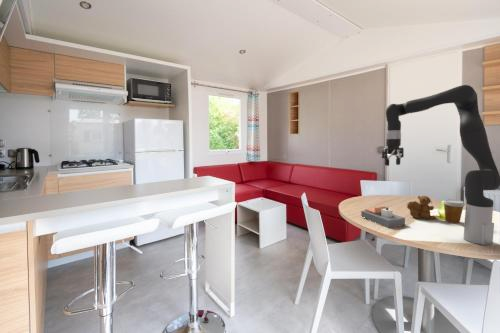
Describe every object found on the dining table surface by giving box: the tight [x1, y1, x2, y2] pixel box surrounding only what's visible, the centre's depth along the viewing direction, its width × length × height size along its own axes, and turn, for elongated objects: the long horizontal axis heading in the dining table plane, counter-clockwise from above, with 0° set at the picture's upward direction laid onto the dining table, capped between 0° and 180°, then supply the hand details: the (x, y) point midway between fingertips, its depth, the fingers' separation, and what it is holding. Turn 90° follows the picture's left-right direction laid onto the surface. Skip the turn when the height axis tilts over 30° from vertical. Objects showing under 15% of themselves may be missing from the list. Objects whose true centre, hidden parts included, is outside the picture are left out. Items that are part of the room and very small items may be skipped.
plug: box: [381, 206, 393, 218], centre depth 144 cm, size 4×4×8 cm
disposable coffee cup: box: [442, 198, 466, 224], centre depth 143 cm, size 10×10×12 cm
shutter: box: [364, 206, 386, 214], centre depth 152 cm, size 8×7×4 cm
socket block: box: [360, 209, 406, 229], centre depth 147 cm, size 20×12×4 cm, turn 18°
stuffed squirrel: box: [406, 195, 437, 220], centre depth 151 cm, size 10×14×13 cm
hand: (392, 165), depth 151 cm, fingers open, 8 cm apart
